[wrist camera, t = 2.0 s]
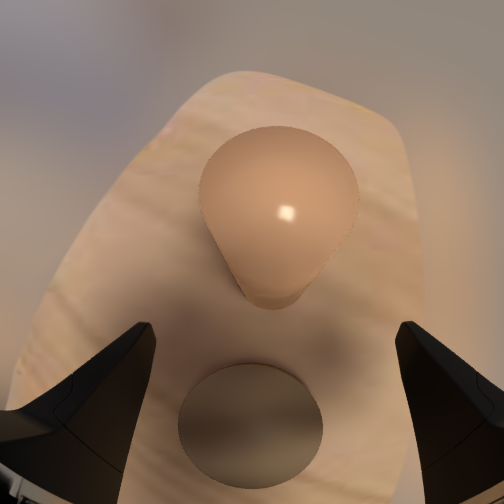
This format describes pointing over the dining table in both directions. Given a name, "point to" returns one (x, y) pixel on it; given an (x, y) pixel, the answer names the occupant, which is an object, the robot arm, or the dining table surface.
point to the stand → (250, 426)
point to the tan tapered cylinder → (277, 209)
